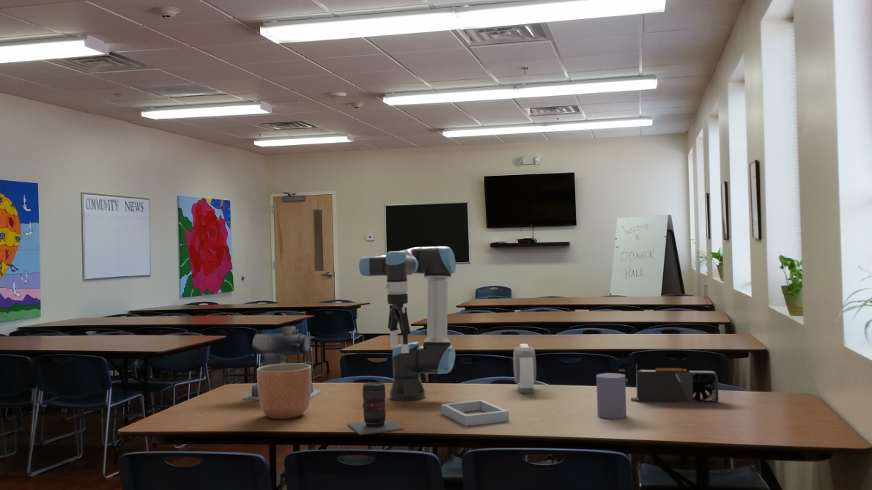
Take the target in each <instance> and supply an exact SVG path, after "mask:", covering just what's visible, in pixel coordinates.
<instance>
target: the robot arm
mask: <svg viewBox="0 0 872 490" xmlns="http://www.w3.org/2000/svg"><path fill="white" fill-rule="evenodd" d="M456 265H457V264H456V259H455V253H454V252H453V250H452V248H451V247H450V246H445V245H443V246H441V245H438V246H437V245H436V246H417V247H416V246H415V247H411V248H407V249H402V250H398V251H397V250H396V251H394V250H393V251H388V252H386V254H383V255H376V256H374V255H373V256H370V255H369V256H362V257H361V258H360V259H359V262H358V270H359V272H360V275H361V276H365V277H377V276H378V277H380V276H381V277H382V276H386V284H385V288H387V289H386V291H387V293H388V294H387V304H388V305H389V312H388V313H389V314H388V324H387V328H388V329H389V330H388V331H389V338H390V343H389V344H390V349H392V355H391V358H392V377H393V380H392V384H391V387H390V391H389V399H391V400H394V401H417V400H421V399H423V398H425V397H426V391H425V388H424V385H423V383H422V380H421V374H437V375H440V374H441V375H442V374H448V373H450V372H451V371H452V370H453V368H454V365H455V360H456V348H455V347H454V346H453V345H452V344H451V340H450V339H449V338H448V288H449V287H448V284H449V283H448V282H449V281H450V279H452V274H454V273H456V269H457V266H456ZM413 274H416V275H417V274H419V275H422V274H423V275H424V276H423V277H424V279H425V280H426V281H427V302H426V303H427V308H426V310H427V313H426V320H427V321H426V326H427V327H426V337H425V339H424V340H423V343H422V345H421V344H420V342H419V341H412V342H410V341H409V339H410V338H409V335H410V334H411V327H410V323H409V322H410V321H409V317H408V309H407V307H406V306H404V305H406V304H408V303H409V297H408V293H407V292H408V290H409V289H408V286H409V285H408V276H411V275H413ZM398 325H399V328H398ZM399 330H400V333H399V335H398V331H399ZM398 336H400V344H399V341H398V339H399V338H398Z"/></svg>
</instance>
